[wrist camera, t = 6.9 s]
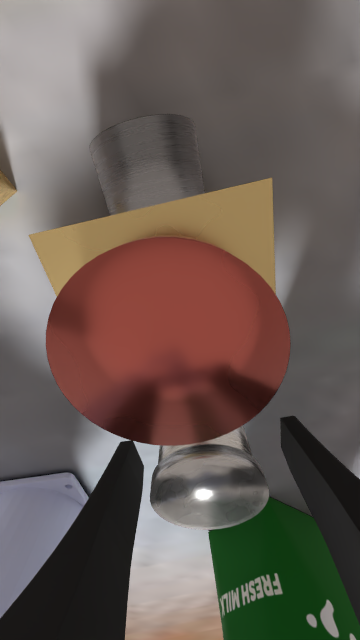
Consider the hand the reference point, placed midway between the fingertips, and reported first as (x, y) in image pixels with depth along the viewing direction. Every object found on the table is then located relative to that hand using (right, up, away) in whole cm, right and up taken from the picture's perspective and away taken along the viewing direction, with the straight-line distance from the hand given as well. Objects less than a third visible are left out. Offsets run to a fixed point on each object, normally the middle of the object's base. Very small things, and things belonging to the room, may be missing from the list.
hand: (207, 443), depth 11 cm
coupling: (0, +1, +2) cm, 2 cm away
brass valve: (-2, +8, -1) cm, 8 cm away
